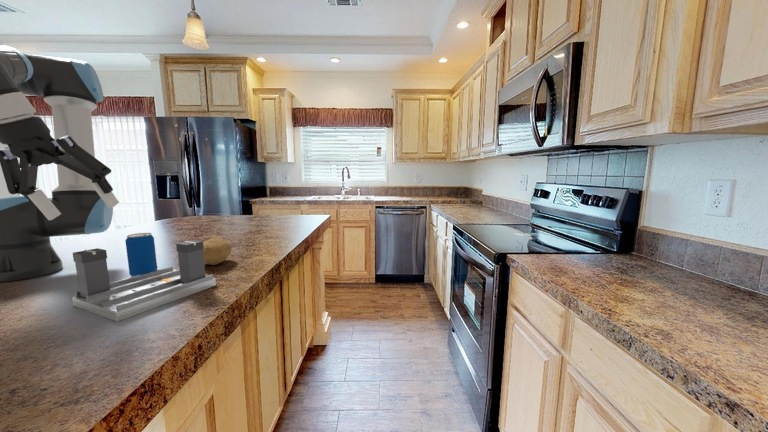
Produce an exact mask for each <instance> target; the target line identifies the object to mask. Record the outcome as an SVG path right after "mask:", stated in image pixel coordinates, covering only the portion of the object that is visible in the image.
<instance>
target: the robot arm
mask: <svg viewBox="0 0 768 432" xmlns="http://www.w3.org/2000/svg"><path fill="white" fill-rule="evenodd" d="M100 81H101V80H100V78H99V77H98V74H97V72H96V70H95V69H94V67H93V66H92V65H91V64H90V63H89V62H87V61H83V60H77V59H73V58H64V57H57V56H56V57H55V56H49V55H48V56H46V55H40V54H32V53H31V54H30V53H26V52H21V51H20V50H18V49H16V48H15V47H11V46H8V45H5V44H3V43H2V44H0V144H1V145H5V146H6V145H7V146H6V147H2V148H0V167H1V171H2V175H3V178H4V181H5V184H6V188H7V191H8V193H9V194H11V195H16V196H7V197H0V283H4V282H13V281H15V282H16V281H21V280H27V279H32V278H37V277H41V276H45V275H46V276H47V275H50V274H53V273H56V272H59V271H60V270H62V269H63V268H64V266H63V261H62V259H61V257H60V256H59V254H58V253H57V252H56V250H55V248H54V247H53V245H52V244H51V243H52V242H51V239H50V238H51V237H64V236H77V235H78V236H79V235H91V234H92V235H93V234H100V233H103V232H106V231H107V230H109V228H110V226H111V224H112V222H113V221H112V220H113V215H114V207H116V206H117V205H118V204H119V203H120V201H119V200H118V199H117V197H116V195H115V194H114V192H113V191H114V189H113V187H112V185H111V184H110V182H109V181H108V179H107V178H106V177H107V176H108V175H109V174H111V173H112V169H111V168H109V167H108V166H107V165H106V164H104V163H103V162H102V161H100V160H99V159H98V158H96V156H95V155H96V154H95V143H94V130H93V117H92V112H94V111H95V110H96V109H98V105H97V104H98V103H101V102H104V92H103V91H104V90H103V88H102V85H101V82H100ZM26 95H28V96H34V97H43V100H44V102H45V104H47V105H49V106H50V107H51V111H52V123H53V135H54V137H52V135H51V129H50V128H49V127H48V125H47V124H46V123H45V121H44V119H43V118H42V117H41V116H39V115H35V113H36V112H37V109H36V108H35V107H34V106H33V105H32V103H31V102H30V101H29V99H28V98H27V97H26ZM52 164H55V165H56V172H57V179H58V180H57V182H58V185H57V187H55V188H54V189H53V190H51V197H48V196H47V195H46V193H44V191H43V190H42V189H39V187H37V181H38V180H37V179H38V171H39V167H40V166H42V165H52ZM17 194H19V195H17Z"/></svg>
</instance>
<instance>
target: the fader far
mask: <svg viewBox="0 0 768 432" xmlns="http://www.w3.org/2000/svg"><path fill="white" fill-rule="evenodd" d="M203 242H204V241H203V240H202V241H201V240H195V239H193V240H192V239H191V240H187V241H186V240H185V241H182V242H177V243H175V245H176V246H175V247H176V252H177V255H178V256H177V257H178V266H179V267H178V268H179V270H180V278H181V282H183V283H187V282H190V281H193V280H196V279H199V278H202V277H205V276H206V270H205V269H206V266H205V263H204V255H203V249H204V246H203Z"/></svg>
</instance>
